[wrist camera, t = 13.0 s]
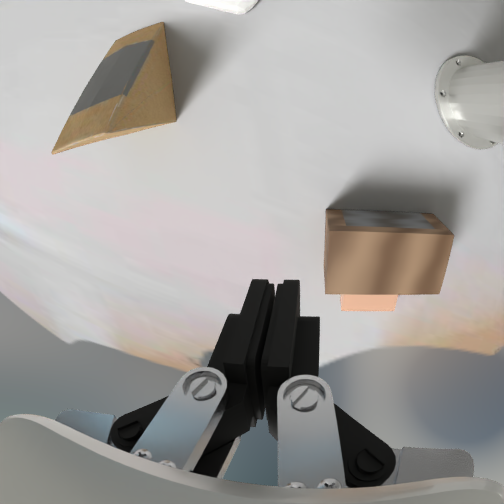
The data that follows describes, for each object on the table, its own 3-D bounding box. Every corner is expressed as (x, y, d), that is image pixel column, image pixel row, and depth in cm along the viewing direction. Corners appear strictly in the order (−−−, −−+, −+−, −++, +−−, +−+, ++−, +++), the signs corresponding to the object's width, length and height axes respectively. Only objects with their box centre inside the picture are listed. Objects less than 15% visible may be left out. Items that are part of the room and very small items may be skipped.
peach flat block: (403, 225, 35) (410, 234, 32) (390, 298, 40) (394, 310, 38) (347, 223, 36) (350, 232, 34) (340, 298, 42) (341, 310, 39)
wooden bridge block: (432, 213, 33) (454, 235, 27) (423, 266, 36) (439, 294, 30) (325, 209, 36) (329, 230, 30) (323, 264, 39) (325, 294, 33)
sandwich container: (165, 19, 27) (96, -11, 14) (179, 121, 34) (108, 133, 21) (114, 40, 29) (38, 29, 16) (126, 134, 36) (49, 155, 23)
